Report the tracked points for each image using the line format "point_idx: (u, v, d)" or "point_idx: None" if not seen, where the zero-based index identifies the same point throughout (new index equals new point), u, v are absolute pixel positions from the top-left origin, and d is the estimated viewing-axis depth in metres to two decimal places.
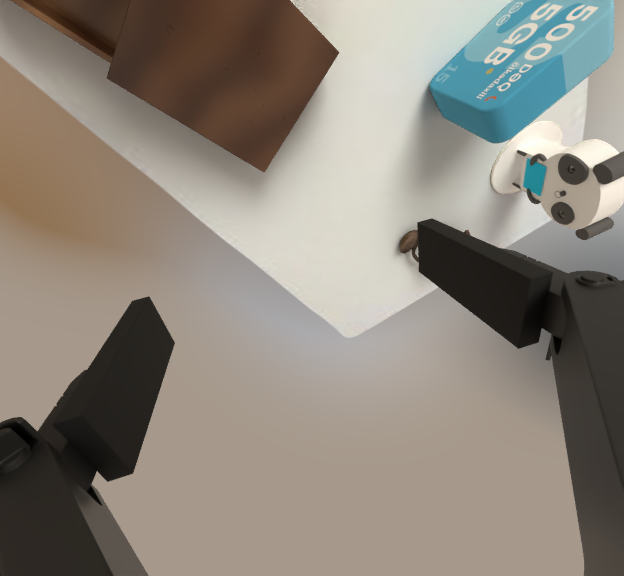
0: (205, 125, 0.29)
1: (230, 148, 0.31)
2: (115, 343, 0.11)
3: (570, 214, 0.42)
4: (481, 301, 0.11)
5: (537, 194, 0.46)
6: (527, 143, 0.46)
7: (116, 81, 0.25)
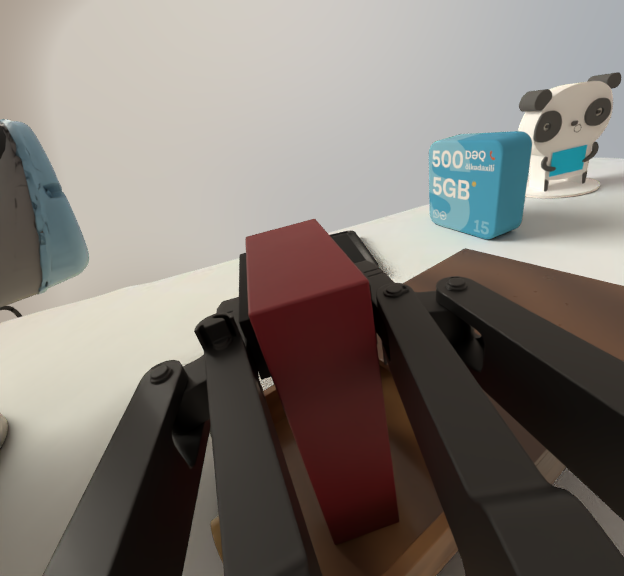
0: None
1: None
2: None
3: (595, 102, 0.43)
4: None
5: (586, 149, 0.46)
6: (535, 190, 0.50)
7: (533, 453, 0.12)
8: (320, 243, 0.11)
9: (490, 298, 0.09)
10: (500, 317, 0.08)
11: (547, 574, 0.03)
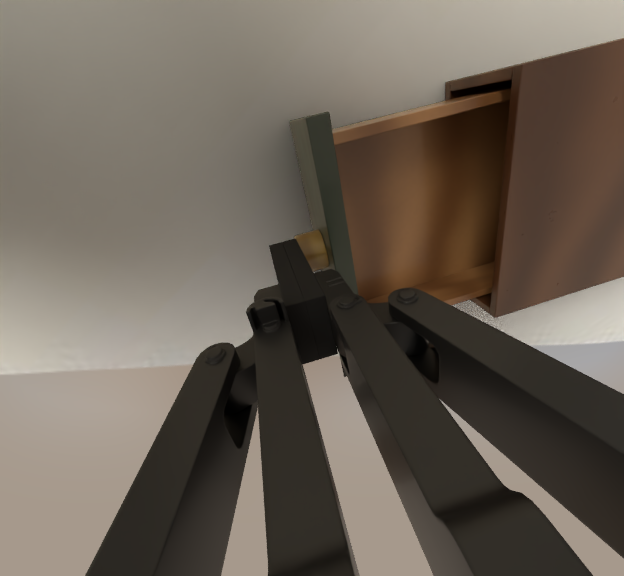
0: (611, 268, 0.19)
1: None
2: (285, 267, 0.13)
3: None
4: None
5: None
6: None
7: (504, 312, 0.19)
8: None
9: (441, 309, 0.09)
10: (451, 328, 0.08)
11: None
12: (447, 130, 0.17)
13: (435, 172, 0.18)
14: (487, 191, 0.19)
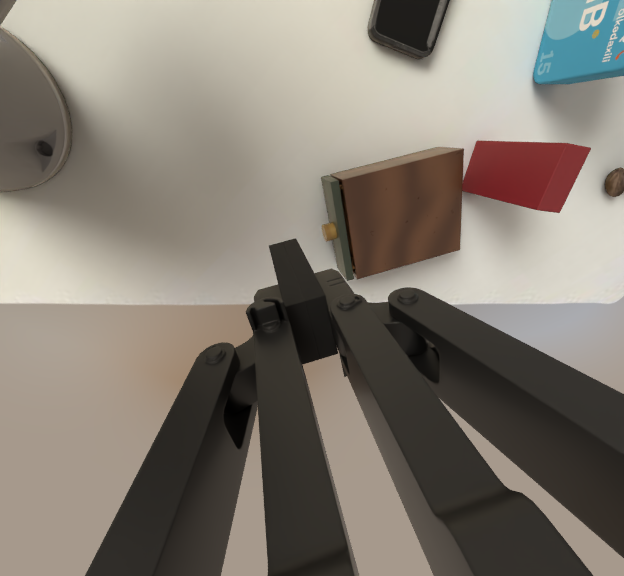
0: (411, 257, 0.40)
1: (431, 255, 0.41)
2: (285, 267, 0.13)
3: None
4: None
5: None
6: None
7: (361, 276, 0.40)
8: (571, 180, 0.31)
9: (441, 308, 0.09)
10: (451, 328, 0.08)
11: None
12: None
13: None
14: None
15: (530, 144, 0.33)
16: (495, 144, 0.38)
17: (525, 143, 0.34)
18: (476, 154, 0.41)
